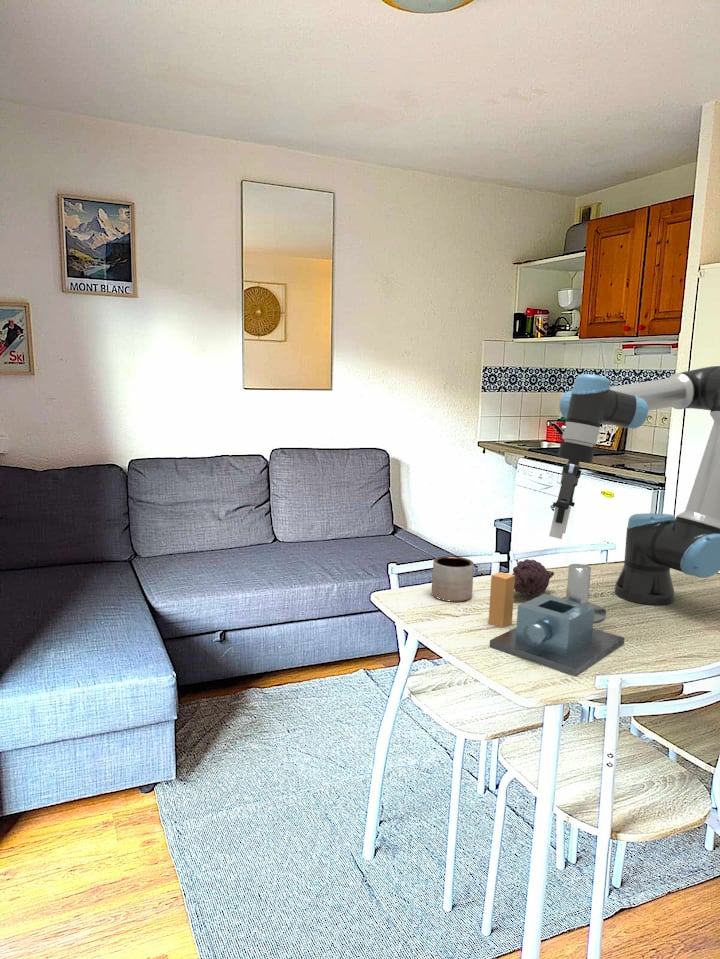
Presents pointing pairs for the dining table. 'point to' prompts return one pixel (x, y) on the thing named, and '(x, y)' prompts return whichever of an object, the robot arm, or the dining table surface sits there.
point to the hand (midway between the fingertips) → (557, 534)
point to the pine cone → (531, 577)
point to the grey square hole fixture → (561, 628)
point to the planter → (452, 578)
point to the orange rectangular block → (501, 599)
